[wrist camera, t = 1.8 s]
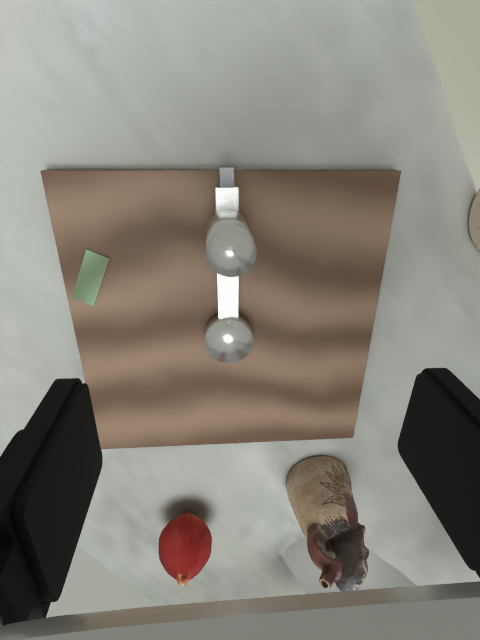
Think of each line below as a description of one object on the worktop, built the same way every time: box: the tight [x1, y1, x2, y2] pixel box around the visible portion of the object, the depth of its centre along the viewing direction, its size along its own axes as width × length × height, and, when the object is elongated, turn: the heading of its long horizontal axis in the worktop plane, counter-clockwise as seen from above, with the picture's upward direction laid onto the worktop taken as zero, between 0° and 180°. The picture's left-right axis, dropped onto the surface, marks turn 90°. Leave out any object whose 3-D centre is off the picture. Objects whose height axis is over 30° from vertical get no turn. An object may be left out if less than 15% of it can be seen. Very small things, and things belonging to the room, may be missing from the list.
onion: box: [159, 512, 212, 586], centre depth 40 cm, size 6×6×8 cm
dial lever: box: [205, 167, 257, 363], centre depth 26 cm, size 15×4×7 cm, turn 0°
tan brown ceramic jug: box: [286, 456, 369, 592], centre depth 37 cm, size 7×7×12 cm
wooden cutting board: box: [41, 170, 401, 449], centre depth 33 cm, size 26×26×1 cm
